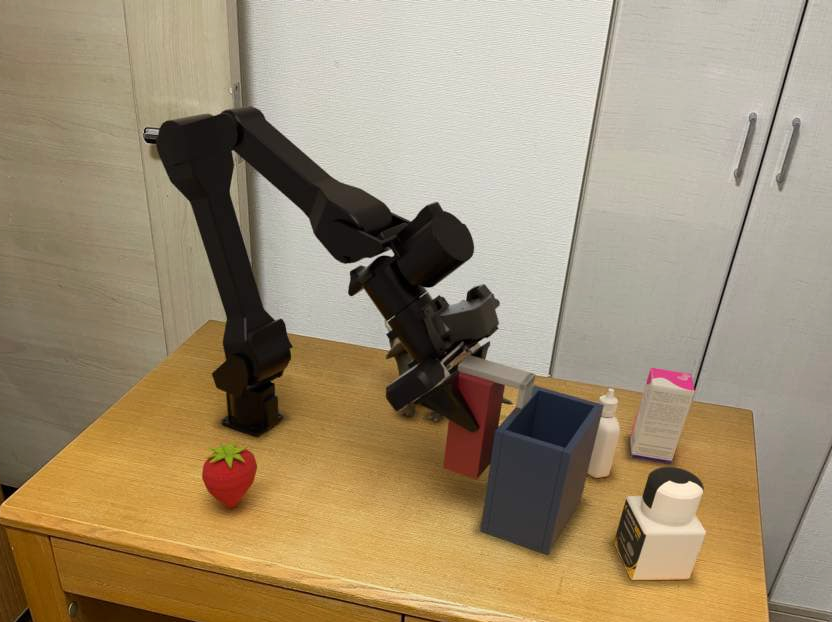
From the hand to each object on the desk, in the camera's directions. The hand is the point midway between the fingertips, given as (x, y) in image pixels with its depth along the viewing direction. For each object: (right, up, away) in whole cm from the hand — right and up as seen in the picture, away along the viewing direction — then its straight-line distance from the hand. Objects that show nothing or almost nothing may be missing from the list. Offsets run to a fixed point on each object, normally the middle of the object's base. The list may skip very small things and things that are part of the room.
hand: (485, 420), depth 93 cm
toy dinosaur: (-5, +5, +27) cm, 28 cm away
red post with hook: (0, -5, +4) cm, 7 cm away
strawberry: (-31, -10, +6) cm, 33 cm away
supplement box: (+26, -1, +22) cm, 34 cm away
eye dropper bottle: (+17, -4, +18) cm, 25 cm away
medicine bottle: (+20, -17, +2) cm, 26 cm away
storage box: (+7, -11, +8) cm, 15 cm away
